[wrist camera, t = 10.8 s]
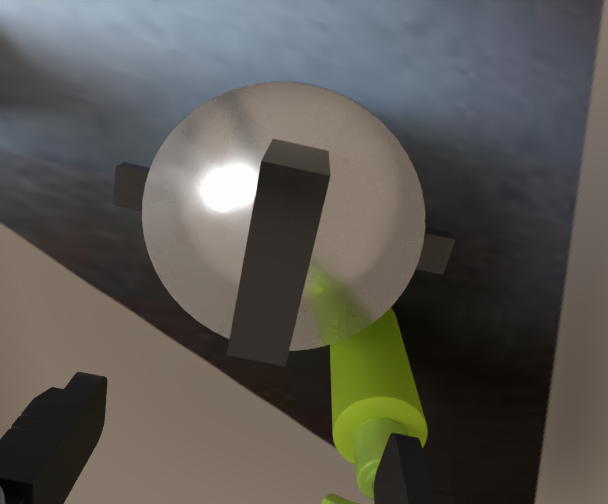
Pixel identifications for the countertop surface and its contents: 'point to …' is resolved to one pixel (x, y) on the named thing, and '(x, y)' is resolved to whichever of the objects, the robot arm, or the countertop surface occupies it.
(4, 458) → the robot arm
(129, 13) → the countertop surface
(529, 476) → the countertop surface
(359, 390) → the soap dispenser
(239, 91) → the cooker lid
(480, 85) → the countertop surface
